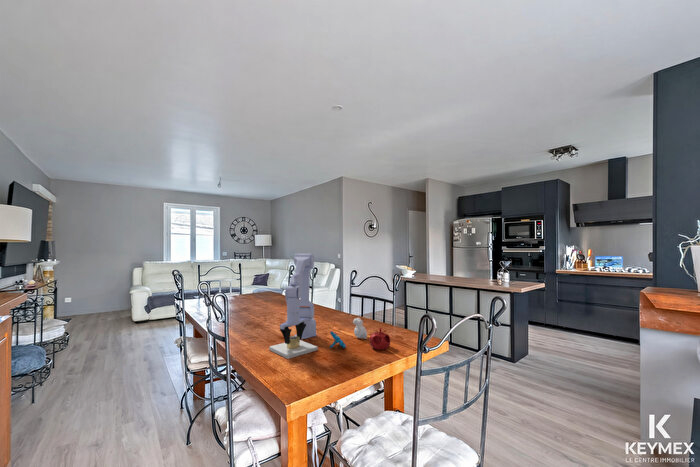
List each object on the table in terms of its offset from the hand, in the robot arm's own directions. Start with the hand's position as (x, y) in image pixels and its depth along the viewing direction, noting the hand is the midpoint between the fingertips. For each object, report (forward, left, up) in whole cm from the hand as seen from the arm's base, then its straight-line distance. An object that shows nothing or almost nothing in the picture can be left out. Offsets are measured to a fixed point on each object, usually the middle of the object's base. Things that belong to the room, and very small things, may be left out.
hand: (293, 341), depth 145 cm
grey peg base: (0, 0, -4) cm, 4 cm away
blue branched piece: (-17, +11, -4) cm, 21 cm away
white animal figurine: (-36, +8, -4) cm, 37 cm away
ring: (0, 0, -2) cm, 2 cm away
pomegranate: (-31, +26, -4) cm, 41 cm away
